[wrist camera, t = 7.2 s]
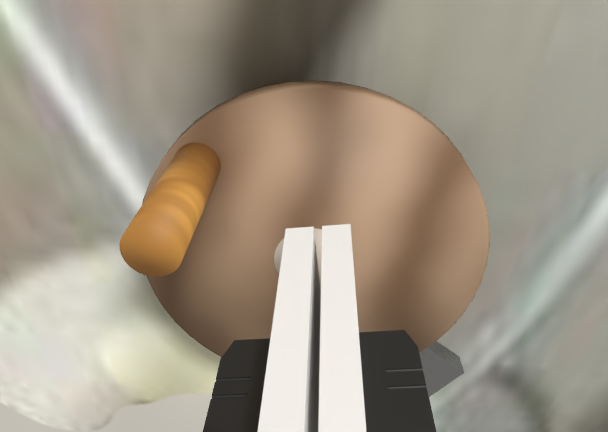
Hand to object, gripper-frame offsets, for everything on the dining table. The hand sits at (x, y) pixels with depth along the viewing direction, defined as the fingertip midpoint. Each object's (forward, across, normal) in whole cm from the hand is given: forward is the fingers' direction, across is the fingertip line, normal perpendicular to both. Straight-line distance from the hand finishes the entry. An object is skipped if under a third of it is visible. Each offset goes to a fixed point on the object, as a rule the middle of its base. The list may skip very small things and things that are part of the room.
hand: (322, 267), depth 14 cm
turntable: (+14, +1, +8) cm, 16 cm away
